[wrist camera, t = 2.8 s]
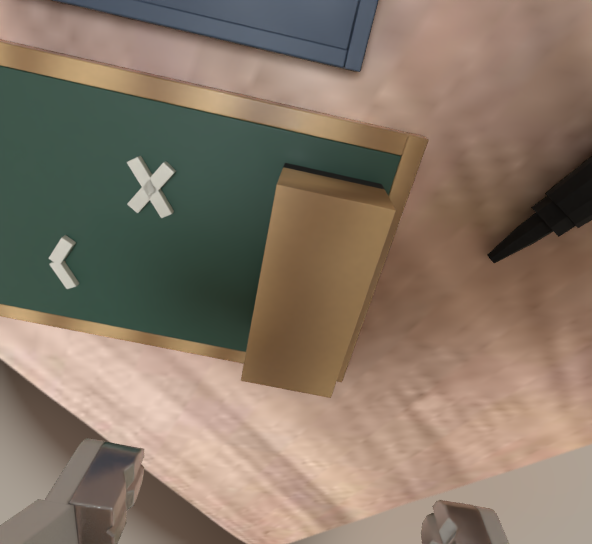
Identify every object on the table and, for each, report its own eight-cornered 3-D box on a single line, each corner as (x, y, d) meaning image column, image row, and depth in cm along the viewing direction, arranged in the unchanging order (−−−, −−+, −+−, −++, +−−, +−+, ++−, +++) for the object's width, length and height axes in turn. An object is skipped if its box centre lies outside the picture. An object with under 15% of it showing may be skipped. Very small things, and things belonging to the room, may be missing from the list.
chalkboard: (424, 136, 19) (429, 139, 18) (341, 372, 26) (342, 382, 26) (-72, 22, 18) (-93, 20, 17) (-10, 303, 25) (-22, 312, 24)
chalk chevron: (76, 236, 22) (71, 239, 21) (80, 287, 23) (76, 291, 23) (49, 231, 21) (45, 234, 21) (55, 283, 23) (51, 286, 23)
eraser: (382, 183, 19) (396, 210, 16) (329, 350, 24) (330, 398, 21) (284, 162, 19) (276, 184, 15) (252, 335, 24) (240, 380, 21)
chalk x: (176, 163, 19) (174, 165, 19) (174, 218, 21) (171, 220, 20) (129, 153, 19) (126, 154, 19) (130, 208, 21) (126, 211, 20)
